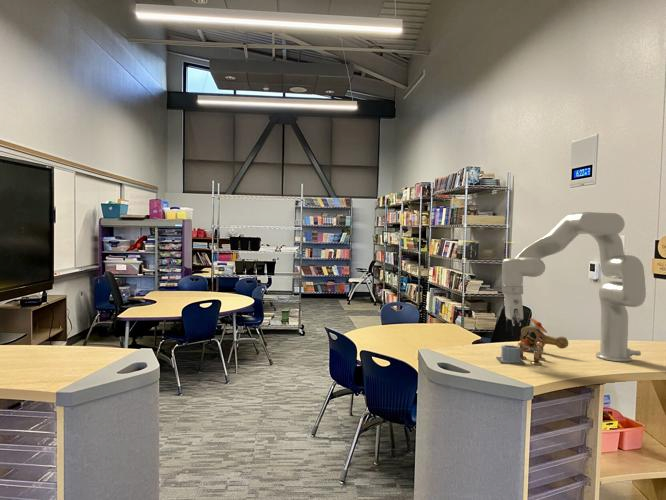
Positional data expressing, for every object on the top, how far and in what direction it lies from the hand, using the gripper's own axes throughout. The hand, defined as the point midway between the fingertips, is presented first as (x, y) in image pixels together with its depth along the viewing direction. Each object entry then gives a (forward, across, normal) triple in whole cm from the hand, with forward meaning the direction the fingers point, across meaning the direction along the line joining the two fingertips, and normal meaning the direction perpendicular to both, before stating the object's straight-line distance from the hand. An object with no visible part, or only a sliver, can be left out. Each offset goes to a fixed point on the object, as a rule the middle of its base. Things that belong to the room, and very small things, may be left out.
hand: (513, 333), depth 183 cm
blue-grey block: (+10, 0, +1) cm, 10 cm away
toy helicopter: (+12, +20, -16) cm, 28 cm away
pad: (+11, 0, +1) cm, 11 cm away
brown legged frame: (+11, +2, -8) cm, 14 cm away
